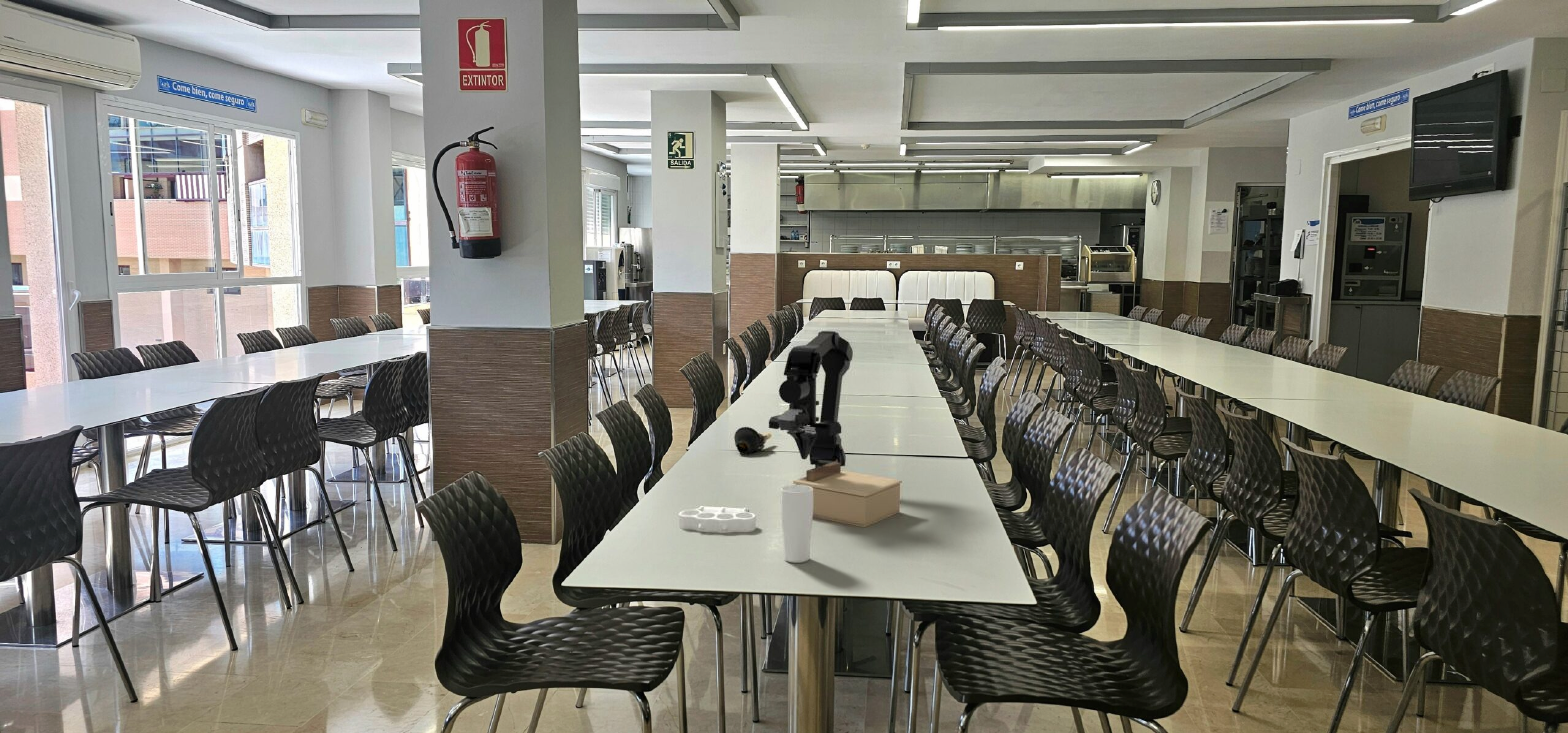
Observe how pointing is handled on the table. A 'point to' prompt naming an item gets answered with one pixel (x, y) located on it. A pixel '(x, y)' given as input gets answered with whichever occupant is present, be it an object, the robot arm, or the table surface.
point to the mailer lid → (845, 480)
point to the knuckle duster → (718, 519)
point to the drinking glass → (797, 521)
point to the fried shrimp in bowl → (749, 440)
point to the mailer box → (856, 506)
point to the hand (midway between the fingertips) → (804, 459)
